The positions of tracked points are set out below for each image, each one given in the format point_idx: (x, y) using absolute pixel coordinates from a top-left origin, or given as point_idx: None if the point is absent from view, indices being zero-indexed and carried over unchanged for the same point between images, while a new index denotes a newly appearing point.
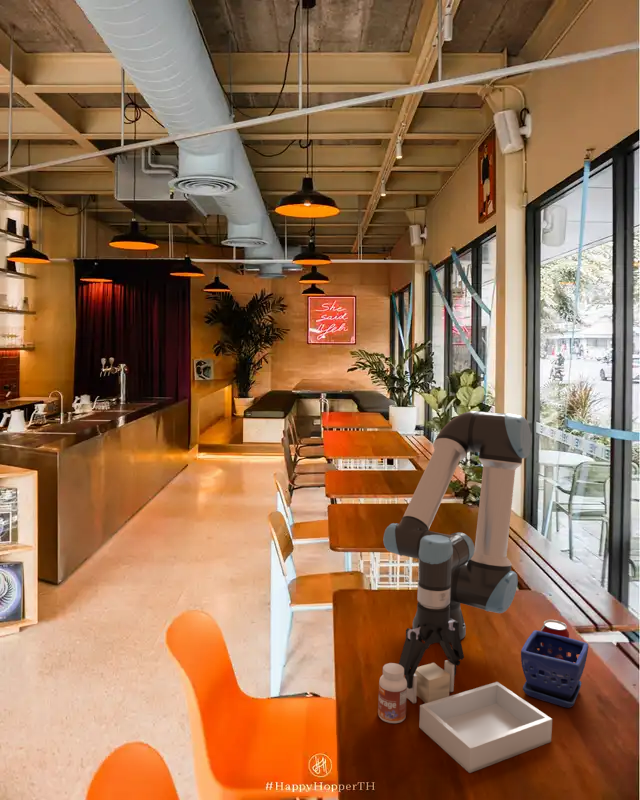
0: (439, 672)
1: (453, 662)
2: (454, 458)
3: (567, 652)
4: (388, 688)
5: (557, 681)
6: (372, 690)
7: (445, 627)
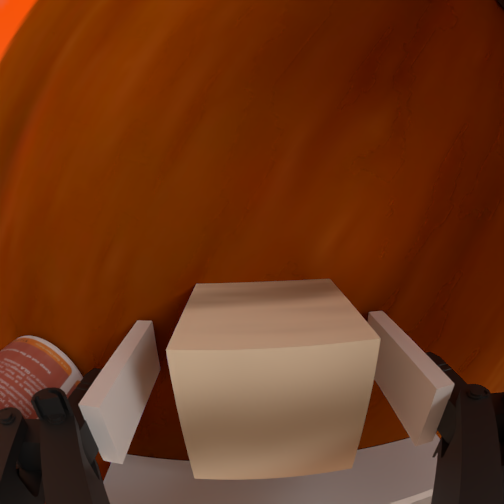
0: (315, 445)
1: (439, 443)
2: None
3: None
4: None
5: None
6: (34, 194)
7: None
